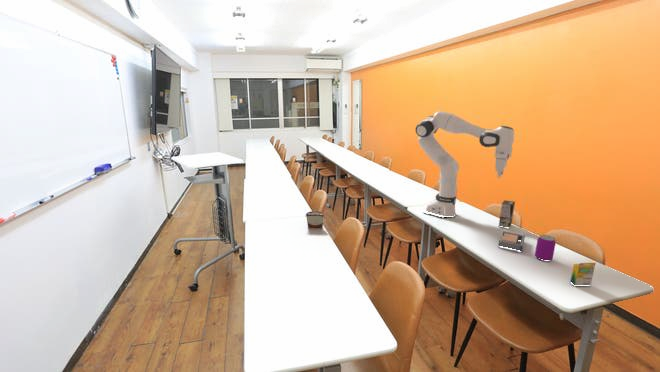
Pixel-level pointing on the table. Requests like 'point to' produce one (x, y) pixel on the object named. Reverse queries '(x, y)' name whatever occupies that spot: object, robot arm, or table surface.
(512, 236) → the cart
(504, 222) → the coffee box
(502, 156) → the robot arm
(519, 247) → the dock bay
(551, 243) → the beverage can
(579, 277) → the crayon box
